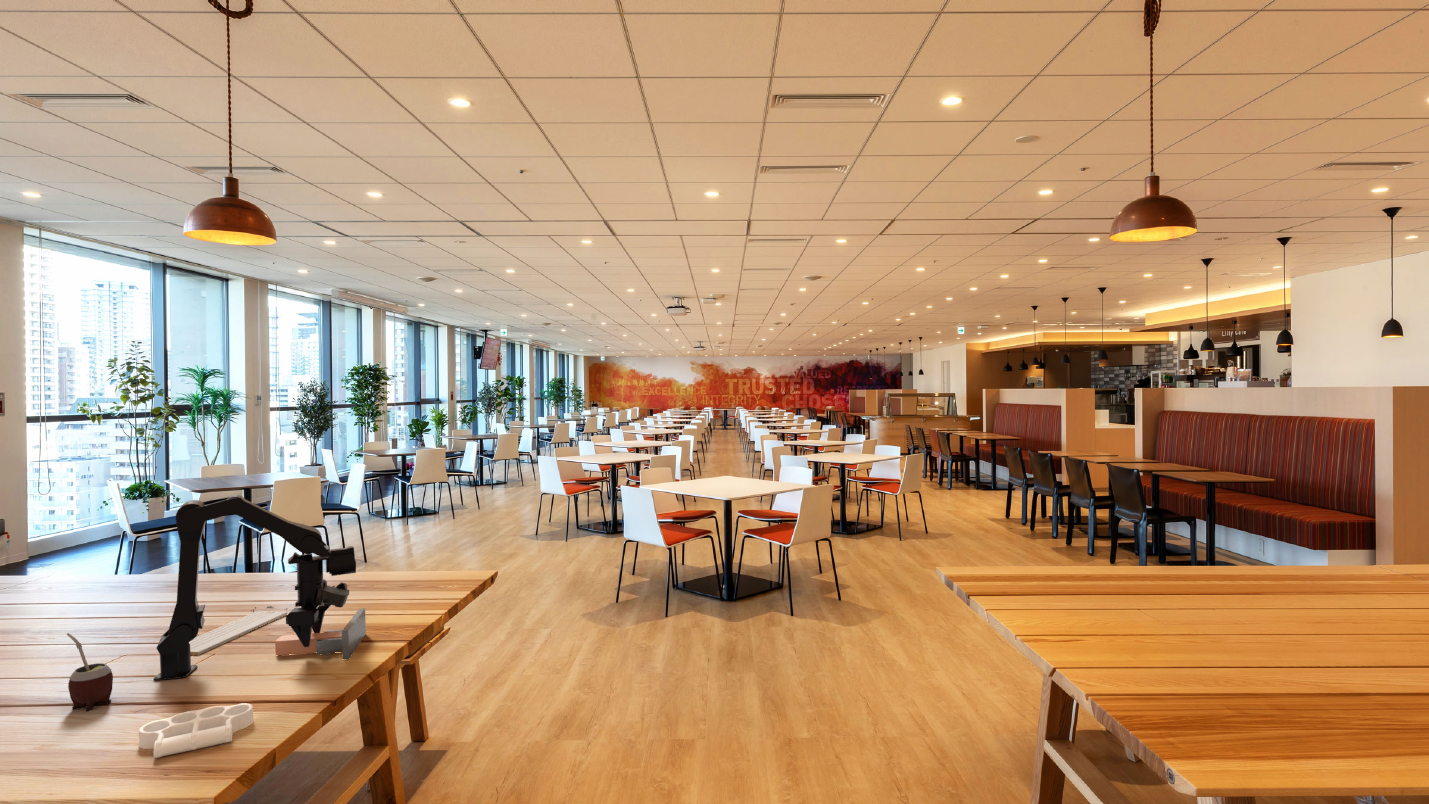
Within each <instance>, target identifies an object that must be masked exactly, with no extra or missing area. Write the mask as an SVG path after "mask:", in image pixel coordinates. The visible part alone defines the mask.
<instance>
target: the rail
mask: <svg viewBox="0 0 1429 804" xmlns="http://www.w3.org/2000/svg"><path fill="white" fill-rule="evenodd" d="M332 638H342V631H339V632H326V633H324V632H320V633H314V632H313V633H312V632H311V639H310V645H309V647H304V646H303V645H302V643H301V641H300V640H299V638H298V636H297V635H296V634H288V635H287V634H286V635H281V636H280V637H278V638H277V639H276V640H275V642H274V643H275V644H274V645H275V646H274V647H275V656H276V655H285V656H290V655H289V654H297V655H307V653H310V654H315V653H314V652H317V647H316V641H317V640H320V639H332Z"/></svg>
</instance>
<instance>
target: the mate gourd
mask: <svg viewBox="0 0 1429 804" xmlns="http://www.w3.org/2000/svg"><path fill="white" fill-rule="evenodd" d="M66 635H67V636H68V638H70V639H71V640H72V641H73V642H74V643H75V647H76V648H77V650H78V652H79V655H80V657H81V660H82V663H83V666H81V667H78V668H76V669H74V671H73V672H72V673H71V675H70V677H69V680H68V692H69V696H70V700H71V702H72V704H73V706H71V709H72V710H78V709H84V708H85V712H90V711H92V710H93V708H94V707H96V706H100V705H106V704H110V703H111V702H112V699H110V698H111V695H112V691H113V685H114V684H113V683H114V682H113V681H114V674H113V671H112V669H111V668H110V667H109V665H107V664H106V663H102V662H100V663H91V664H88V662H87V661H88V660H87V659H86V655H85V653H84V650H83V645H82V643H81V642H80V641H79V640H78V639H77V638H76V637H75V636H73V635H72V634H71V633H70V632H68V633H67V632H66Z"/></svg>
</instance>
